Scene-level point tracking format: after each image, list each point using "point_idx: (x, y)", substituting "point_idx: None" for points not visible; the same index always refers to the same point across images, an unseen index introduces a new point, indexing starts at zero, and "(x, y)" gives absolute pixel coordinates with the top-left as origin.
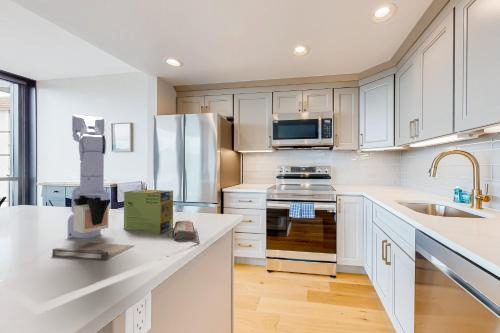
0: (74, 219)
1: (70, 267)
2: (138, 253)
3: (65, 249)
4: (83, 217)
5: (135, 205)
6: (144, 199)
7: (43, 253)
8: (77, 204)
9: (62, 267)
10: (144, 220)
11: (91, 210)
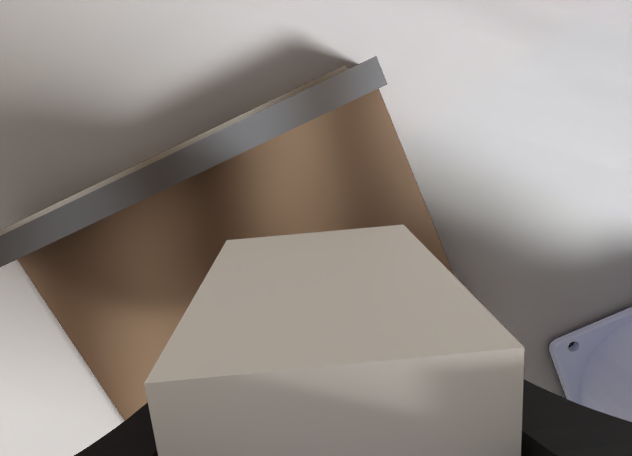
0: (418, 260)
1: (136, 91)
2: (78, 425)
3: (285, 114)
4: (193, 307)
5: None
6: None
7: (565, 75)
8: (598, 437)
9: (174, 60)
10: None
11: (125, 450)
